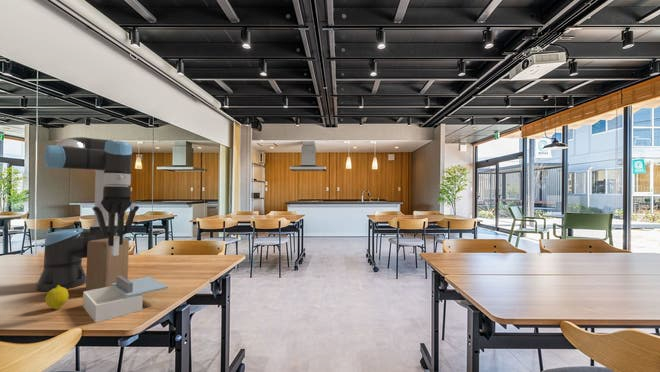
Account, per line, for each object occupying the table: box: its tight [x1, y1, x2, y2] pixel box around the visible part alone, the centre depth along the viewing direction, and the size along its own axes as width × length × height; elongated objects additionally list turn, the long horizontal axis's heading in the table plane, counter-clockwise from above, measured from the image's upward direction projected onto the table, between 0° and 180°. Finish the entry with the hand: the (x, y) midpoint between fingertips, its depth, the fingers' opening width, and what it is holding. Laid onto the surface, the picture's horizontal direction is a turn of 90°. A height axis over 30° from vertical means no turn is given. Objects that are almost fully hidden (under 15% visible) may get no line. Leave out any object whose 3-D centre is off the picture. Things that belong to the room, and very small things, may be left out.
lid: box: [112, 275, 169, 297], centre depth 100 cm, size 19×12×4 cm, turn 50°
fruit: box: [44, 285, 70, 310], centre depth 93 cm, size 6×6×8 cm
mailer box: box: [82, 286, 144, 324], centre depth 94 cm, size 19×12×5 cm, turn 50°
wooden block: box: [85, 237, 130, 291], centre depth 114 cm, size 10×10×20 cm
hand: (115, 254), depth 96 cm, fingers closed
